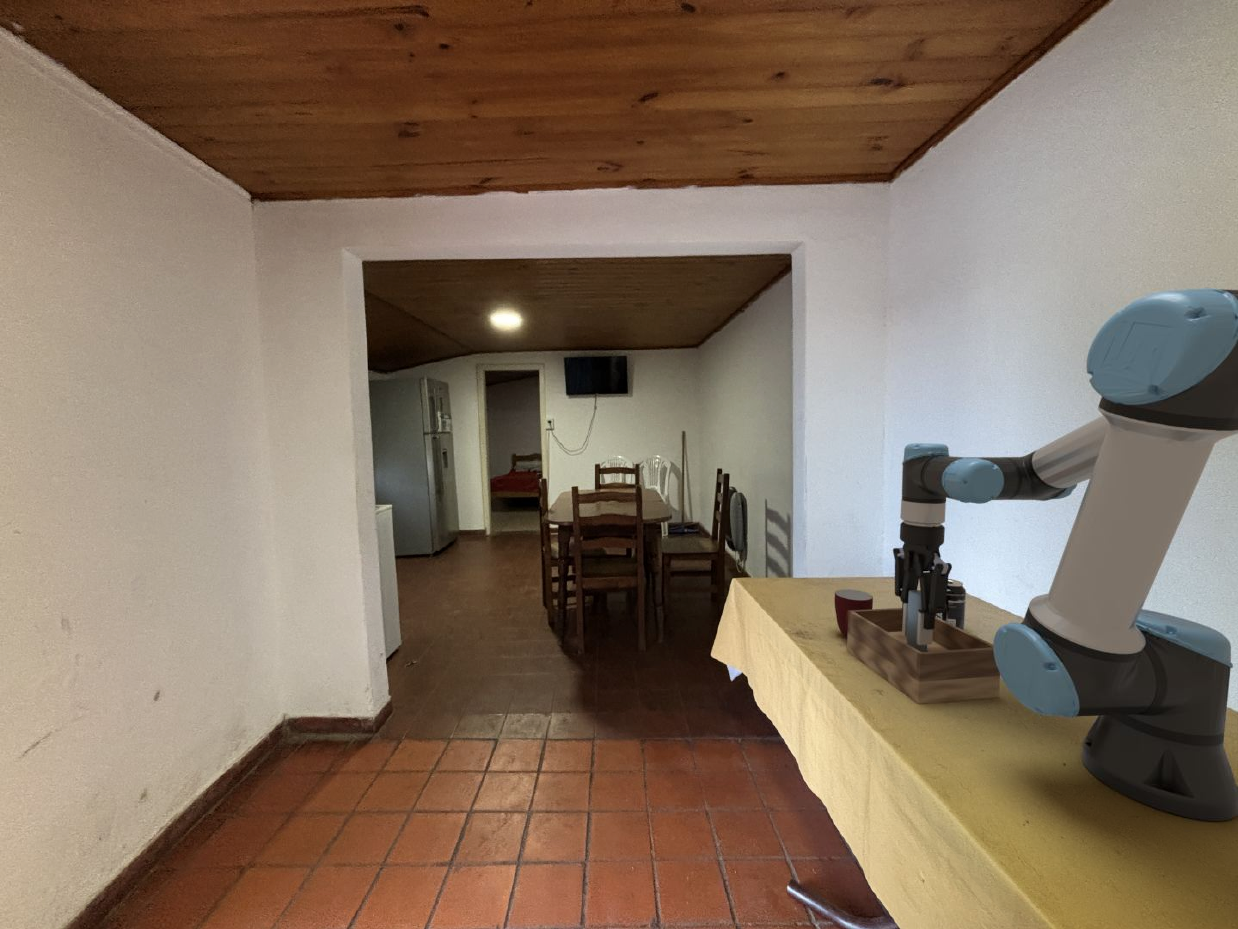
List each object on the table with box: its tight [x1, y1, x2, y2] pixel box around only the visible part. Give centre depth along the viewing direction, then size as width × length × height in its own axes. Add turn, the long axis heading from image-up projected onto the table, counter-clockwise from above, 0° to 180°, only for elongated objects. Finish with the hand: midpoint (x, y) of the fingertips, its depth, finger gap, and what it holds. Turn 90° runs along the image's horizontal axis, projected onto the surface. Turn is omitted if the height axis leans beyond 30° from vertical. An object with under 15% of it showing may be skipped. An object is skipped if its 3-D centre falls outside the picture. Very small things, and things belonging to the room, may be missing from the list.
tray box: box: [846, 607, 1001, 705], centre depth 104 cm, size 22×16×9 cm
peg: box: [906, 589, 927, 652], centre depth 104 cm, size 4×4×12 cm
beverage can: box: [935, 578, 967, 631], centre depth 125 cm, size 7×7×12 cm
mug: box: [833, 588, 874, 639], centre depth 121 cm, size 11×8×10 cm
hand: (916, 639), depth 104 cm, fingers closed on peg, 3 cm apart
